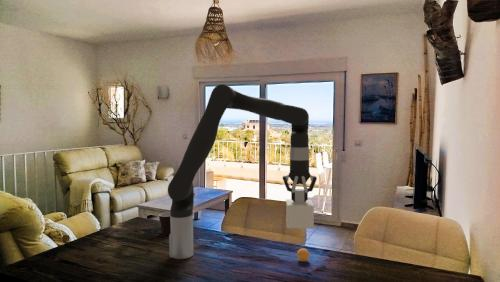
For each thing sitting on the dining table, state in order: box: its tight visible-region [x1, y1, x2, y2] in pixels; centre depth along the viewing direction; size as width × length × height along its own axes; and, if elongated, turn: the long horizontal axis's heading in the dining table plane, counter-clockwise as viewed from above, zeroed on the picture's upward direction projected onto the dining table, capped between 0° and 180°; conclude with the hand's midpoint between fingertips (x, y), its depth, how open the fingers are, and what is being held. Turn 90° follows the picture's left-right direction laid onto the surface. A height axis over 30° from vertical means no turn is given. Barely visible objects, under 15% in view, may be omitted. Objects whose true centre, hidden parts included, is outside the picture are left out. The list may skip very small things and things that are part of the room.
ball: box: [296, 247, 310, 262], centre depth 135 cm, size 5×5×5 cm
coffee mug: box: [158, 211, 171, 236], centre depth 171 cm, size 12×9×10 cm
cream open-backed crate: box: [285, 188, 315, 229], centre depth 134 cm, size 10×10×14 cm
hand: (299, 201), depth 134 cm, fingers closed on cream open-backed crate, 3 cm apart
